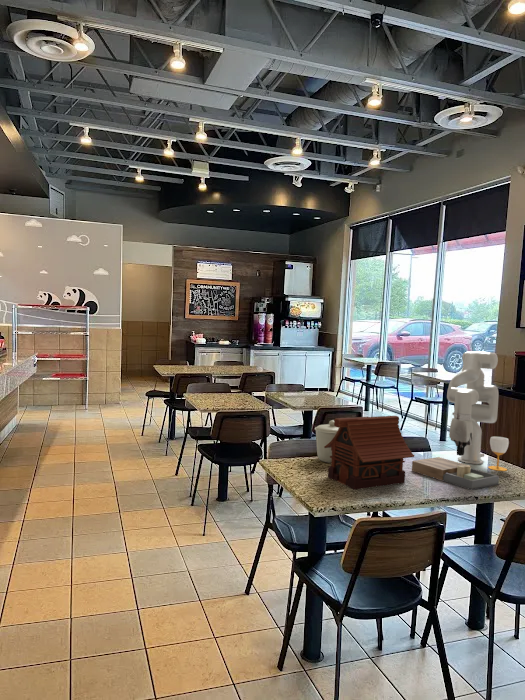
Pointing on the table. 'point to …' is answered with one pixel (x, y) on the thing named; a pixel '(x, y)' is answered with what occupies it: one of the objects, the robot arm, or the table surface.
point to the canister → (325, 440)
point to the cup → (498, 450)
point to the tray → (472, 484)
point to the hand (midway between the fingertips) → (460, 454)
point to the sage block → (472, 476)
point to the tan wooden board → (435, 467)
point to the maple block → (463, 470)
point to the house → (368, 452)
